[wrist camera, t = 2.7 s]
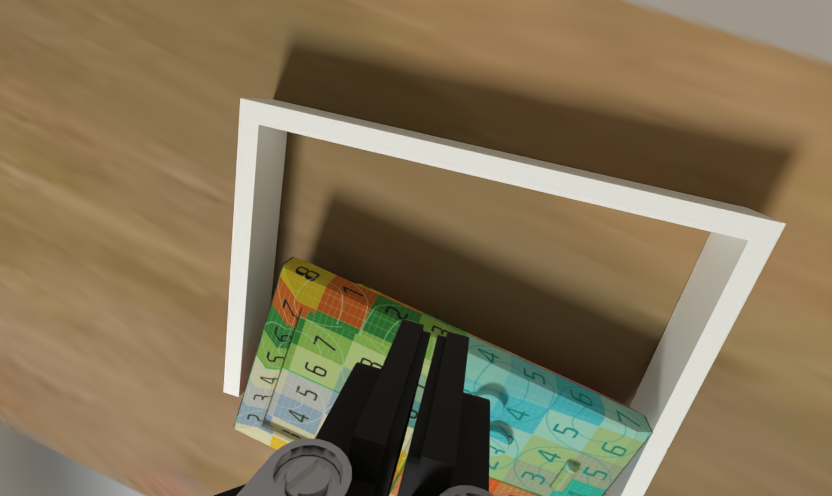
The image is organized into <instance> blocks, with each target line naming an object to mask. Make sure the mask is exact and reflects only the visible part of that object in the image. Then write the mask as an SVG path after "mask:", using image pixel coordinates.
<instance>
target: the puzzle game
mask: <svg viewBox="0 0 832 496" xmlns="http://www.w3.org/2000/svg"><path fill="white" fill-rule="evenodd" d="M403 319H405V320H408V321H412V322H416V323H419V324H423V325H424V328H423V331H426V332H430V333H431V335H430V339H429V343H428V347H427V351H426V355H425V359H424V363H423V368H422V372H421V376H420V380H419V384H418V388H417V392H416V396H415V400H414V404H413V408H412V412H411V416H410V420H409V424H408V428H407V432H406V435H405V439H404V443H403V446H402V450H401V454H400V457H399V461H398V465H397V468H396V472H395V476H394V479H393V483H392V487H391V490H390V494H389V496H397V494H398V490H399V486H400V482H401V478H402V474H403V470H404V466H405V462H406V458H407V455H408V451H409V447H410V443H411V439H412V435H413V431H414V427H415V423H416V419H417V415H418V411H419V407H420V403H421V399H422V395H423V391H424V387H425V383H426V380H427V376H428V372H429V368H430V364H431V360H432V356H433V352H434V348H435V344H436V340H437V336H438V335H441V336H445V337H446V336H447V332H448V331H449V332H453V333H456V334H460V335H464V336H467V337H469V347H468V356H467V365H466V374H465V383H464V392H465V393H468V394H472V395H475V396H479V397H482V398H486V399H489V400H490V459H489V493H491V494H493V495H495V496H603V495H604V494H605V493H606V491H607V490H608V489H609V488H610V486H611V485H612V484H613V483H614V481H615V480H616V479H617V478H618V476H619V475H620V474H621V473H622V471H623V470H624V469H625V467H626V466H627V465H628V464H629V462H630V461H631V460H632V459H633V457H634V456H635V455H636V454H637V452H638V451H639V450H640V449H641V447H642V446H643V445H644V444H645V442H646V441H647V440H648V438H649V437H650V436H651V435H652V433H653V432H652V429H651V427H650V425H649V423H648V421H647V419H646V416H644V415H643V414H641V413H639V412H637V411H636V410H634V409H632V408H630V407H629V406H627V405H625V404H623V403H621V402H619V401H617V400H614V399H612V398H610V397H608V396H606V395H603V394H601V393H599V392H597V391H595V390H592V389H590V388H588V387H586V386H584V385H581V384H579V383H577V382H575V381H573V380H571V379H568V378H566V377H564V376H562V375H560V374H557V373H555V372H553V371H551V370H549V369H546V368H544V367H542V366H540V365H538V364H535V363H533V362H531V361H529V360H527V359H524V358H522V357H520V356H518V355H516V354H513V353H511V352H509V351H507V350H505V349H502V348H500V347H498V346H496V345H494V344H492V343H489V342H487V341H485V340H483V339H481V338H478V337H476V336H474V335H472V334H470V333H467V332H465V331H463V330H461V329H459V328H456V327H454V326H452V325H450V324H448V323H445V322H443V321H441V320H439V319H437V318H434V317H432V316H430V315H428V314H426V313H423V312H421V311H419V310H417V309H415V308H412V307H410V306H408V305H406V304H404V303H402V302H399V301H397V300H395V299H393V298H391V297H388V296H386V295H384V294H382V293H380V292H377V291H375V290H373V289H371V288H369V287H366V286H364V285H362V284H355V283H353V282H351V281H348V280H346V279H344V278H342V277H340V276H337V275H335V274H333V273H331V272H329V271H326V270H324V269H322V268H320V267H318V266H315V265H313V264H311V263H309V262H308V261H304V260H301V259H298V258H294V257H292V258H290V259H289V260H288V261H286V262H285V263H283V266H282V269H281V273H280V276H279V279H278V282H277V286H276V289H275V292H274V296H273V299H272V302H271V306H270V309H269V312H268V315H267V319H266V322H265V325H264V329H263V332H262V335H261V339H260V342H259V345H258V349H257V352H256V355H255V358H254V362H253V365H252V368H251V372H250V375H249V378H248V382H247V385H246V388H245V391H244V395H243V398H242V401H241V405H240V408H239V411H238V415H237V418H236V421H235V424H234V429H236V430H238V431H240V432H242V433H244V434H246V435H248V436H250V437H252V438H254V439H256V440H258V441H260V442H262V443H264V444H266V445H268V446H270V447H272V448H274V449H276V450H278V449H279V448H280V447H282V446H284V445H286V444H288V443H290V442H292V441H296V440H301V439H306V438H307V439H315V438H316V436H317V434H318V432H319V430H320V428H321V426H322V425H323V423H324V421H325V419H326V417H327V415H328V413H329V412H330V410H331V408H332V406H333V404H334V402H335V400H336V399H337V397H338V395H339V393H340V391H341V389H342V387H343V386H344V384H345V382H346V380H347V378H348V376H349V375H350V373H351V371H352V369H353V367H354V366H355V364H356V363H357V362H359V363H363V364H366V365H370V366H373V367H377V368H380V369H381V368H382V366H383V364H384V361H385V359H386V357H387V354H388V352H389V350H390V347H391V345H392V343H393V340H394V338H395V336H396V333H397V331H398V329H399V327H400V324H401V322H402V320H403Z"/></svg>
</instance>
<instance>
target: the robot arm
mask: <svg viewBox="0 0 832 496" xmlns="http://www.w3.org/2000/svg"><path fill="white" fill-rule="evenodd" d="M423 328H424V325H423V324H419V323H416V322H412V321H408V320H405V319H403V320H402V322H401V324H400V327H399V329H398V331H397V333H396V336H395V338H394V340H393V343H392V345H391V347H390V350H389V352H388V354H387V357H386V359H385V361H384V364H383V366H382V368H381V369H380V368H377V367H373V366H370V365H366V364H363V363H359V362H357V363H356V364H355V366H354V367H353V369H352V371H351V373H350V375H349V376H348V378H347V380H346V382H345V384H344V386H343V387H342V389H341V391H340V393H339V395H338V397H337V399H336V400H335V402H334V404H333V406H332V408H331V410H330V412H329V413H328V415H327V417H326V419H325V421H324V423H323V425H322V426H321V428H320V430H319V432H318V434H317V436H316V438H315V439H307V438H306V439H301V440H296V441H292V442H290V443H288V444H286V445H284V446H282V447H280V448H279V449H278V450H277V451H276V452H275V453H273V454H272V455H271V456H270V458H269V459H268V460H267V461H266V462H265V463H264V464H263V466H262V467H261V468H260V469H259V470H258V471H257V472H256V474H255V475H254V476H253V477H252V478H251V479H250V480H249V482H248V483H247V484H245V485H242V486H239V487H237V488H234V489H231V490H228V491H225V492H223V493H220V494H217V495H214V496H389V494H390V490H391V487H392V483H393V479H394V476H395V472H396V468H397V465H398V461H399V457H400V454H401V450H402V446H403V443H404V439H405V435H406V432H407V428H408V424H409V420H410V416H411V412H412V408H413V404H414V400H415V396H416V392H417V388H418V384H419V380H420V376H421V372H422V368H423V363H424V359H425V355H426V351H427V347H428V343H429V339H430V335H431V333H430V332H426V331H423ZM468 347H469V337H467V336H464V335H460V334H456V333H453V332H449V331H448V332H447V336H446V337H445V336H441V335H438V336H437V340H436V344H435V348H434V352H433V356H432V360H431V364H430V368H429V372H428V376H427V380H426V383H425V387H424V391H423V395H422V399H421V403H420V407H419V411H418V415H417V419H416V423H415V427H414V431H413V435H412V439H411V443H410V447H409V451H408V455H407V458H406V462H405V466H404V470H403V474H402V478H401V482H400V486H399V490H398V494H397V496H495V495H493V494H491V493H489V459H490V400H489V399H486V398H482V397H479V396H475V395H472V394H468V393H465V392H464V383H465V374H466V365H467V356H468Z"/></svg>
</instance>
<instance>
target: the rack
mask: <svg viewBox="0 0 832 496" xmlns="http://www.w3.org/2000/svg"><path fill="white" fill-rule="evenodd" d="M287 131H288V132H292V133H296V134H300V135H304V136H309V137H313V138H317V139H321V140H326V141H330V142H334V143H338V144H342V145H347V146H351V147H355V148H359V149H364V150H368V151H372V152H376V153H381V154H385V155H389V156H393V157H397V158H402V159H406V160H410V161H414V162H419V163H423V164H427V165H431V166H435V167H440V168H444V169H448V170H452V171H457V172H461V173H465V174H469V175H473V176H478V177H482V178H486V179H490V180H495V181H499V182H503V183H507V184H512V185H516V186H520V187H524V188H528V189H533V190H537V191H541V192H545V193H550V194H554V195H558V196H562V197H566V198H571V199H575V200H579V201H583V202H588V203H592V204H596V205H600V206H605V207H609V208H613V209H617V210H621V211H626V212H630V213H634V214H638V215H643V216H647V217H651V218H655V219H659V220H664V221H668V222H672V223H676V224H681V225H685V226H689V227H693V228H697V229H702V230H706V231H710V235H709V237H708V239H707V241H706V243H705V245H704V247H703V250H702V252H701V254H700V256H699V258H698V260H697V262H696V265H695V267H694V269H693V271H692V273H691V275H690V278H689V280H688V282H687V284H686V286H685V288H684V290H683V293H682V295H681V297H680V299H679V301H678V303H677V306H676V308H675V310H674V312H673V314H672V316H671V318H670V321H669V323H668V325H667V327H666V329H665V331H664V334H663V336H662V338H661V340H660V342H659V344H658V346H657V349H656V351H655V353H654V355H653V357H652V359H651V362H650V364H649V366H648V368H647V370H646V372H645V374H644V377H643V379H642V381H641V383H640V385H639V387H638V389H637V392H636V394H635V396H634V398H633V400H632V402H631V405H630V408H632V409H634V410H636V411H637V412H639V413H641V414H643V415H644V416H646V419H647V421H648V423H649V425H650V427H651V429H652V432H653V433H652V435H651V436H650V437H649V438H648V440H647V441H646V442H645V444H644V445H643V446H642V447H641V449H640V450H639V451H638V452H637V454H636V455H635V456H634V457H633V459H632V460H631V461H630V462H629V464H628V465H627V466H626V467H625V469H624V470H623V471H622V473H621V474H620V475H619V476H618V478H617V479H616V480H615V481H614V483H613V484H612V485H611V486H610V488H609V489H608V490H607V491H606V495H607V496H643V495H644V493H645V491H646V489H647V488H648V486H649V484H650V482H651V480H652V478H653V476H654V474H655V472H656V470H657V469H658V467H659V465H660V463H661V461H662V459H663V457H664V455H665V453H666V451H667V449H668V448H669V446H670V444H671V442H672V440H673V438H674V436H675V434H676V432H677V430H678V429H679V427H680V425H681V423H682V421H683V419H684V417H685V415H686V413H687V411H688V409H689V408H690V406H691V404H692V402H693V400H694V398H695V396H696V394H697V392H698V390H699V389H700V387H701V385H702V383H703V381H704V379H705V377H706V375H707V373H708V371H709V369H710V368H711V366H712V364H713V362H714V360H715V358H716V356H717V354H718V352H719V350H720V349H721V347H722V345H723V343H724V341H725V339H726V337H727V335H728V333H729V331H730V329H731V328H732V326H733V324H734V322H735V320H736V318H737V316H738V314H739V312H740V310H741V309H742V307H743V305H744V303H745V301H746V299H747V297H748V295H749V293H750V291H751V289H752V288H753V286H754V284H755V282H756V280H757V278H758V276H759V274H760V272H761V270H762V269H763V267H764V265H765V263H766V261H767V259H768V257H769V255H770V253H771V251H772V249H773V248H774V246H775V244H776V242H777V240H778V238H779V236H780V234H781V232H782V230H783V229H784V227H785V225H786V224H785V223H783V222H780V221H778V220H776V219H773V218H771V217H768V216H766V215H763V214H761V213H759V212H756V211H754V210H751V209H749V208H746V207H742V206H738V205H733V204H729V203H725V202H720V201H716V200H711V199H707V198H703V197H698V196H694V195H690V194H685V193H681V192H676V191H672V190H668V189H663V188H659V187H655V186H650V185H646V184H641V183H637V182H633V181H628V180H624V179H620V178H615V177H611V176H606V175H602V174H598V173H593V172H589V171H585V170H580V169H576V168H571V167H567V166H563V165H558V164H554V163H550V162H545V161H541V160H536V159H532V158H528V157H523V156H519V155H515V154H510V153H506V152H501V151H497V150H493V149H488V148H484V147H480V146H475V145H471V144H466V143H462V142H458V141H453V140H449V139H445V138H440V137H436V136H431V135H427V134H423V133H418V132H414V131H410V130H405V129H401V128H396V127H392V126H388V125H383V124H379V123H375V122H370V121H366V120H361V119H357V118H353V117H348V116H344V115H340V114H335V113H331V112H326V111H322V110H318V109H313V108H309V107H305V106H300V105H296V104H291V103H287V102H283V101H278V100H274V99H251V98H241V99H240V116H239V133H238V150H237V168H236V185H235V202H234V219H233V237H232V254H231V271H230V288H229V306H228V323H227V340H226V358H225V375H224V392H225V393H228V394H231V395H234V396H237V397H239V396H240V395H241V394H242V393H243V392H244V391H245V388H246V385H247V382H248V378H249V375H250V372H251V368H252V365H253V362H254V358H255V355H256V352H257V349H258V345H259V342H260V339H261V335H262V332H263V329H264V325H265V322H266V319H267V315H268V312H269V309H270V306H271V297H272V287H273V276H274V266H275V256H276V245H277V235H278V224H279V214H280V204H281V193H282V183H283V172H284V162H285V152H286V141H287Z"/></svg>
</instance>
